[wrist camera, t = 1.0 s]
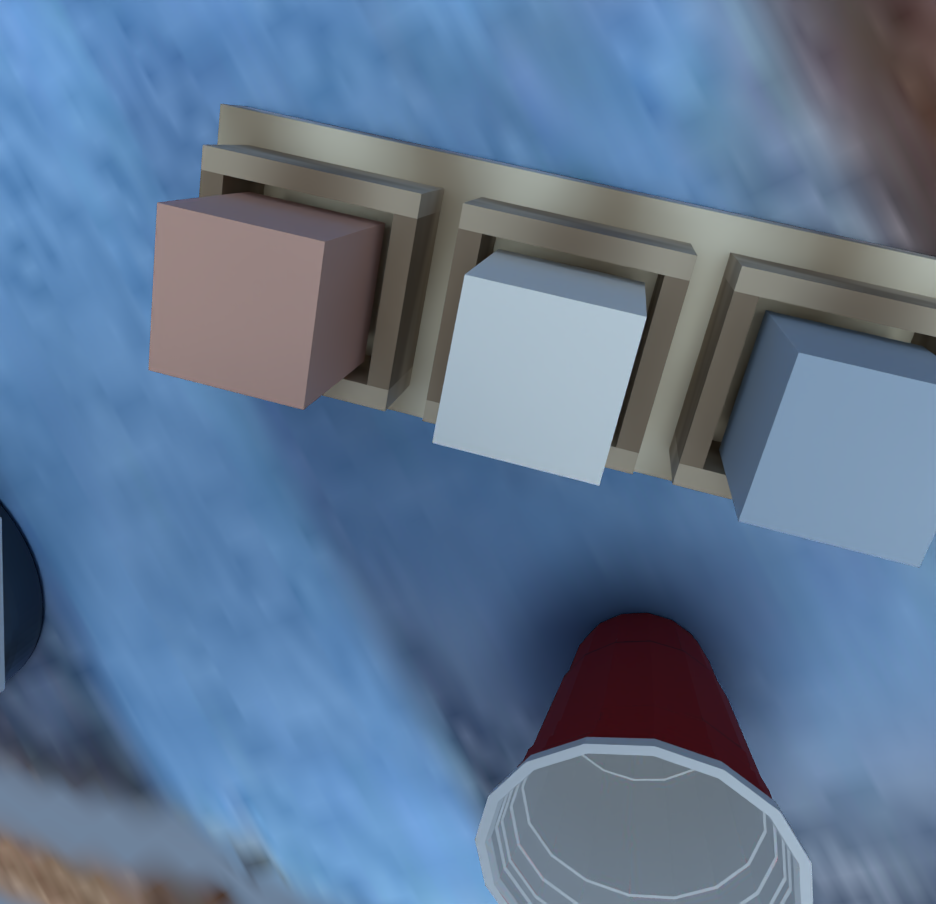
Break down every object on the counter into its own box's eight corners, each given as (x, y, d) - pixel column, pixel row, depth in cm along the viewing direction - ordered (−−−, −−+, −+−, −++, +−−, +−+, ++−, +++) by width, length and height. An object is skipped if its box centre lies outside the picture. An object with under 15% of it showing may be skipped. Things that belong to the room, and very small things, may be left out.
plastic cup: (470, 646, 39) (405, 845, 28) (654, 515, 35) (662, 685, 24) (621, 802, 40) (615, 1049, 29) (814, 692, 37) (891, 930, 25)
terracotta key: (235, 329, 31) (148, 370, 25) (248, 191, 29) (157, 202, 23) (364, 361, 30) (303, 409, 25) (385, 223, 28) (325, 241, 23)
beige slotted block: (222, 350, 36) (155, 384, 31) (244, 106, 32) (171, 98, 27) (876, 514, 33) (919, 581, 28) (982, 267, 30) (1053, 292, 25)
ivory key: (470, 387, 30) (432, 442, 24) (498, 248, 28) (464, 274, 23) (606, 421, 29) (599, 485, 24) (644, 282, 28) (646, 316, 22)
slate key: (719, 449, 29) (738, 521, 23) (765, 309, 27) (798, 352, 22) (864, 485, 28) (919, 567, 23) (922, 345, 27) (996, 399, 21)
